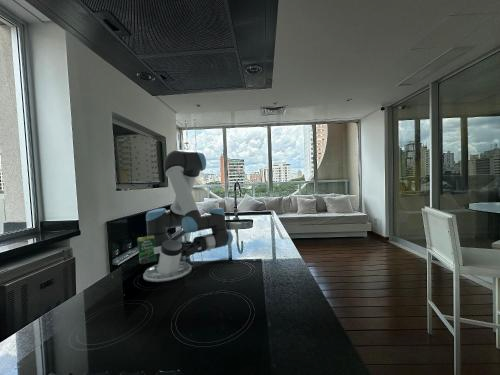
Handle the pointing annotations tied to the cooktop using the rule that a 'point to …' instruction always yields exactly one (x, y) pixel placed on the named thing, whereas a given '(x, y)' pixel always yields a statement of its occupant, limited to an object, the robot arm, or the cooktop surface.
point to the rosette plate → (154, 276)
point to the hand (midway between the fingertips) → (159, 253)
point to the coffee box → (146, 249)
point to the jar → (169, 257)
